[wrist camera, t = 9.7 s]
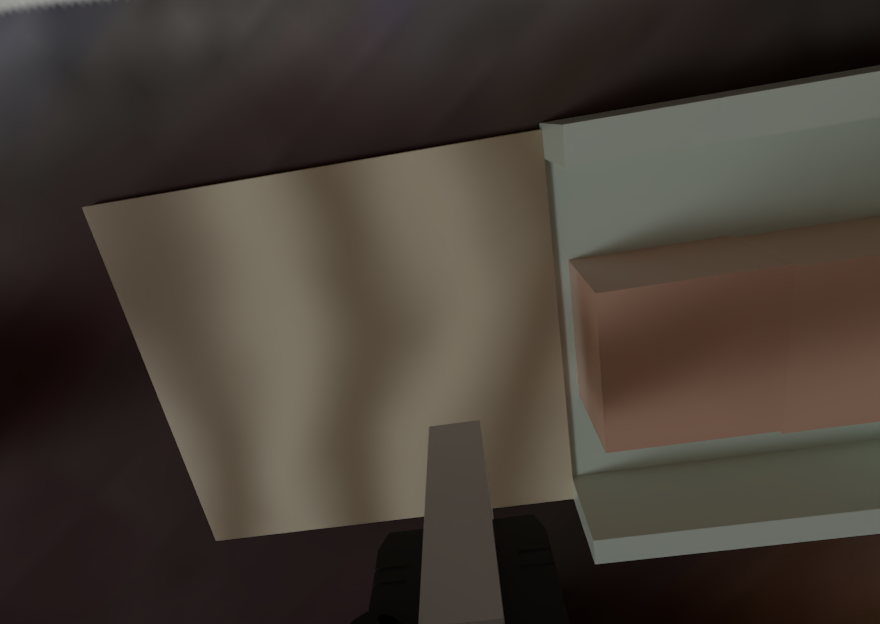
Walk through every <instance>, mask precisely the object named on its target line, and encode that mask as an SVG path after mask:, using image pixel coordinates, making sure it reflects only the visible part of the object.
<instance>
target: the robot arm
mask: <svg viewBox="0 0 880 624" xmlns="http://www.w3.org/2000/svg"><path fill="white" fill-rule="evenodd" d="M375 569H376V572H375V575H374V581H373V588H372V593H371V600H370V606H369V612H366V613H364V614H363V615H361V616H360V617H358V618H356V619H355V620H353V621H352V623H351V624H570V621H569V617H568V613H567V610H566V606H565V602H564V598H563V594H562V590H561V586H560V582H559V578H558V574H557V570H556V567H555V563H554V559H553V555H552V551H551V547H550V543H549V539H548V535H547V531H546V529H545V527H544V526H543V525H542V524H541V523H540V522H539V521H538V519H537V518H536V517H535V516H534V515H525V516H517V517H509V518H500V519H494V518H493V510H492V502H491V494H490V488H489V481H488V474H487V467H486V460H485V454H484V447H483V440H482V433H481V426H480V420H476V421H468V422H461V423H453V424H445V425H438V426H430V427H429V438H428V457H427V475H426V493H425V512H424V529H419V530H411V531H402V532H394V533H389V534H388V536H387V537H386V539H385V541H384V542H383V544H382V545H381V547H380V548H379V550H378V556H377V562H376V568H375Z"/></svg>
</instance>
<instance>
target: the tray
mask: <svg viewBox="0 0 880 624" xmlns="http://www.w3.org/2000/svg"><path fill="white" fill-rule="evenodd" d="M539 127H540V129H542V135H543V147H544V158H545V170H546V181H547V192H548V204H549V215H550V226H551V238H552V249H553V261H554V272H555V283H556V295H557V306H558V317H559V329H560V340H561V352H562V363H563V374H564V386H565V397H566V408H567V420H568V431H569V443H570V454H571V465H572V477H573V488H574V501H575V504H576V507H577V510H578V513H579V516H580V520H581V523H582V526H583V529H584V532H585V535H586V538H587V541H588V544H589V547H590V550H591V553H592V556H593V559H594V562H595V564H603V563H613V562H622V561H631V560H640V559H649V558H659V557H668V556H677V555H686V554H695V553H705V552H714V551H723V550H732V549H742V548H751V547H760V546H769V545H778V544H788V543H797V542H806V541H815V540H824V539H834V538H843V537H852V536H861V535H870V534H880V422H872V423H864V424H856V425H848V426H840V427H832V428H824V429H816V430H808V431H800V432H792V433H784V434H782V433H781V432H780V431H778V432H770V433H762V434H754V435H746V436H738V437H730V438H722V439H714V440H706V441H698V442H690V443H682V444H675V445H667V446H659V447H651V448H643V449H635V450H627V451H619V452H611V453H606V452H605V450H604V448H603V446H602V444H601V442H600V439H599V437H598V435H597V433H596V431H595V429H594V427H593V424H592V422H591V420H590V418H589V416H588V414H587V412H586V409H585V407H584V405H583V403H582V401H581V399H580V397H579V388H578V376H577V363H576V351H575V339H574V326H573V314H572V302H571V289H570V277H569V265H568V260H572V259H578V258H585V257H591V256H598V255H604V254H611V253H617V252H624V251H630V250H637V249H643V248H650V247H656V246H663V245H669V244H676V243H682V242H689V241H695V240H702V239H708V238H715V237H721V236H728V235H729V236H731V237H741V236H747V235H754V234H760V233H767V232H774V231H780V230H787V229H793V228H800V227H806V226H813V225H819V224H826V223H832V222H839V221H845V220H852V219H858V218H865V217H871V216H878V215H880V65H877V66H871V67H865V68H860V69H854V70H848V71H842V72H836V73H830V74H824V75H819V76H813V77H807V78H801V79H795V80H789V81H783V82H777V83H772V84H766V85H760V86H754V87H748V88H742V89H736V90H730V91H725V92H719V93H713V94H707V95H701V96H695V97H689V98H683V99H678V100H672V101H666V102H660V103H654V104H648V105H642V106H637V107H631V108H625V109H619V110H613V111H607V112H601V113H595V114H590V115H584V116H578V117H572V118H566V119H560V120H554V121H548V122H543V123H539Z"/></svg>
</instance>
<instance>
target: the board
mask: <svg viewBox="0 0 880 624" xmlns="http://www.w3.org/2000/svg"><path fill="white" fill-rule="evenodd" d="M82 209H83V212H84V214H85V217H86V219H87V221H88V224H89V226H90V229H91V231H92V234H93V236H94V239H95V241H96V244H97V246H98V249H99V251H100V254H101V256H102V259H103V261H104V264H105V266H106V269H107V271H108V274H109V276H110V279H111V281H112V284H113V286H114V289H115V291H116V294H117V296H118V299H119V301H120V303H121V306H122V308H123V311H124V313H125V316H126V318H127V321H128V323H129V326H130V328H131V331H132V333H133V336H134V338H135V341H136V343H137V346H138V348H139V351H140V353H141V356H142V358H143V361H144V363H145V366H146V368H147V371H148V373H149V376H150V378H151V381H152V383H153V386H154V388H155V390H156V393H157V395H158V398H159V400H160V403H161V405H162V408H163V410H164V413H165V415H166V418H167V420H168V423H169V425H170V428H171V430H172V433H173V435H174V438H175V440H176V443H177V445H178V448H179V450H180V453H181V455H182V458H183V460H184V463H185V465H186V468H187V470H188V472H189V475H190V477H191V480H192V482H193V485H194V487H195V490H196V492H197V495H198V497H199V500H200V502H201V505H202V507H203V510H204V512H205V515H206V517H207V520H208V522H209V525H210V527H211V530H212V532H213V535H214V537H215V540H216V541H219V540H228V539H236V538H245V537H253V536H262V535H270V534H279V533H287V532H296V531H304V530H313V529H321V528H330V527H338V526H347V525H355V524H364V523H372V522H381V521H389V520H397V519H406V518H414V517H423V516H424V512H425V493H426V475H427V457H428V438H429V427H430V426H438V425H445V424H453V423H461V422H468V421H476V420H480V426H481V433H482V440H483V447H484V454H485V460H486V467H487V474H488V481H489V488H490V494H491V502H492V508H499V507H508V506H516V505H525V504H533V503H542V502H550V501H559V500H567V499H574V488H573V477H572V465H571V454H570V443H569V431H568V420H567V408H566V397H565V386H564V374H563V363H562V352H561V340H560V329H559V317H558V306H557V295H556V283H555V272H554V261H553V249H552V238H551V226H550V215H549V204H548V192H547V181H546V170H545V158H544V147H543V135H542V129H537V130H531V131H525V132H519V133H513V134H508V135H502V136H496V137H490V138H484V139H478V140H472V141H466V142H460V143H454V144H449V145H443V146H437V147H431V148H425V149H419V150H413V151H407V152H401V153H395V154H390V155H384V156H378V157H372V158H366V159H360V160H354V161H348V162H342V163H336V164H331V165H325V166H319V167H313V168H307V169H301V170H295V171H289V172H283V173H277V174H272V175H266V176H260V177H254V178H248V179H242V180H236V181H230V182H224V183H218V184H213V185H207V186H201V187H195V188H189V189H183V190H177V191H171V192H165V193H159V194H154V195H148V196H142V197H136V198H130V199H124V200H118V201H112V202H106V203H100V204H95V205H89V206H85V207H82Z"/></svg>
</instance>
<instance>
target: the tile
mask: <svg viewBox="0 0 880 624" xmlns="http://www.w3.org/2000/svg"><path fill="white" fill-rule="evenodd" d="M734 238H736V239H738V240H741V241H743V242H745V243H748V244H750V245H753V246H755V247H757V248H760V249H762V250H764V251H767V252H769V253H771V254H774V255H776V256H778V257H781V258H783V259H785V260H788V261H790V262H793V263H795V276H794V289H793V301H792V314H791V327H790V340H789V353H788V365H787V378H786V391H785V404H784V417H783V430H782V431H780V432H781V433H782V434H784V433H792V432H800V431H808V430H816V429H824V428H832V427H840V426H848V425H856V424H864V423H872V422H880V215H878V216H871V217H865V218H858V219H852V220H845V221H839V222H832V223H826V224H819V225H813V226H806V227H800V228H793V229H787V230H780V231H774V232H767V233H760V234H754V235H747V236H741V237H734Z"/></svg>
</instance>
